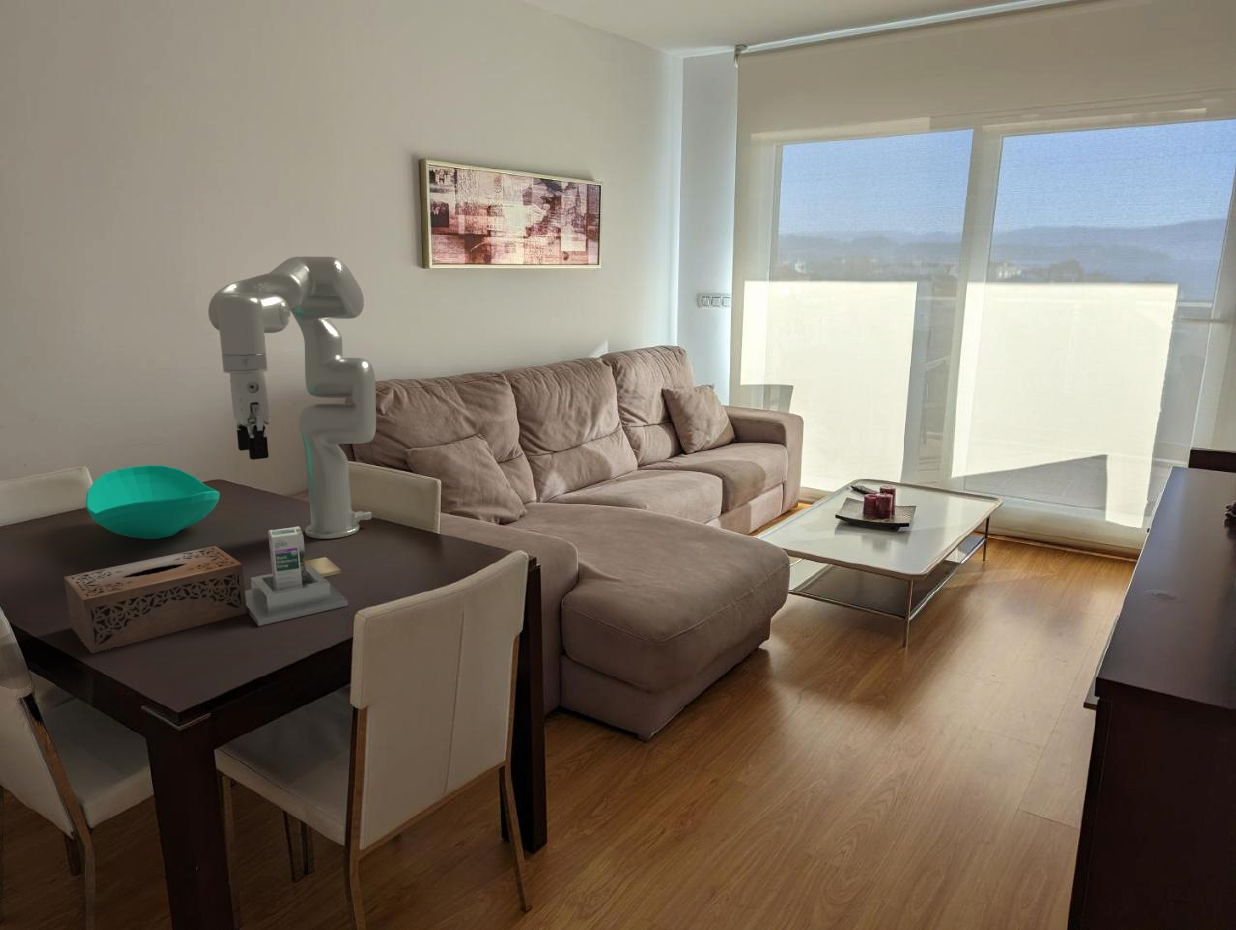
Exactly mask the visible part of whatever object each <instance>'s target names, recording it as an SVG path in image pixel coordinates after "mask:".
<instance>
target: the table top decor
mask: <svg viewBox="0 0 1236 930" xmlns="http://www.w3.org/2000/svg"><path fill="white" fill-rule="evenodd" d="M220 495H221V494H220V492H219V491H218V490H216V489H214V488H212V487H210V486H208V485H206V484H205V483H203V482H202V481H201V480H200V479H198V478H197V477H196V476H194V475H192V474H190V473H188V472H186V471H183V470H181V469H180V468H179V469H178V468H175V467H172V466H166V465H149V464H148V465H139V466H137V465H136V466H131V467H125V468H118V469H115V470H112V471H109V472H106V473H104V474H102V475H101V476H100V477H99V478H96V480H94V481H93V482H92V484H91V486H90V487H89V489H88V491H87V493H86V500H85V507H86V509H87V512H88V513H89V515H90V518H91V519H93V521H95V522H96V523H97V524H98V525H99V526H101V527H103V528H105V529H107V530H108V531H110V532H112V533H114V534H116V535H121V536H124V537H129V538H137V539H144V540H145V539H147V540H156V539H163V538H167V537H168V538H169V537H172V536H174V535H176V534H178V533H179V532H180V531H181V530H184V529H186V528H189V527H191V526H193V525H194V524H196V523H198V522H199V521H201V520H203V519H204V518H206V517H207V515H209V514H210V513H211V512H212V511H213V510H214V509H215V507H216V506H217V504H218V503H219V500H220Z"/></svg>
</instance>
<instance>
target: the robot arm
mask: <svg viewBox="0 0 1236 930" xmlns="http://www.w3.org/2000/svg"><path fill="white" fill-rule="evenodd" d="M364 305H365V300H364V294H363V290H362V288H361V286H360V284H359V283H358V281H357V280H356V278H355V276H354V275H353V273H352V272H351V270H350V269H349V267H348V266H347V265H346V264H345V263H344V262H343V261H342V260H341V259H338V258H337V257H334V256H294V257H293V256H292V257H290V258H287V259H286V260H284V261H283V262H281V263H280V264H278V265H277V266H276V267H275V268H274V269H273V270H271V271H270V272H268V273H264V274H259V275H256V276H254V277H250V278H245V279H241V280H238V281H235V282H232V283H229V284H226V285H225V286H224V287H222V288H221V289H219V290H217V292H215V294H214V295H213V296H212V297H211V298H210V301H209V305H208V310H207V311H208V318H209V322H210V323H211V325H212V327H214V328H215V329H216V330H217V331H219V337H220V347H221V349H220V350H221V357H222V358H221V359H222V360H221V361H222V369H223V373H225V374H229V377H230V378H229V379H230V380H229V381H230V382H229V383H230V394H231V395H230V396H231V397H230V398H231V404H232V405H231V406H232V414H233V418H234V420H235V421H236V428H237V430H236V436H237V447H238V450H239V451H248V452H249V453H248V454H249V455H248V457H249V459H250V460H261V459H268V458H269V456H270V455H269V447H268V445H269V444H268V436H267V431H266V425H270V424H271V423H272V417H271V409H270V404H269V403H270V402H269V396H268V395H269V394H268V387H267V383H266V378H265V373H264V372H268V360H267V350H266V349H267V348H266V339H265V337H266V336H265V334H275V333H279V332H282V331H283V330H285V329H286V328H287V326H288V325H289V322H290V320H291V314H292V316H293V318H294V320H295V321H296V323H297V324H298V326H299V328H300V330H301V333H302V336H303V341H304V372H305V373H304V378H305V387H306V391H307V392H308V394H309V395H310V396H312V397H316V398H321V399H322V398H324V399H326V398H327V399H330V398H331V399H340V398H341V399H353V403H313V404H310V405H307V406H305V407H303V409H301V411H300V412H299V417H298V427H299V432H300V435H301V439H302V442H303V447H304V448H303V449H304V453H305V461H306V473H307V487H308V497H309V498H308V499H309V509H310V510H309V511H310V522H311V524H309V525H308V526H306V528H305V529H304V532H305V535H306V536H307V537H309V538H314V539H319V540H323V539H325V540H326V539H339V538H344V537H348V536H350V535H354V534H356V533H357V532H358V531H359V530H360V524H359V523H360V521H368V520H371V519H372V518H373V515H372V512H371V511H362V510H361V511H359V510H358V511H356V512H355V511H354V510H352V501H351V500H352V499H351V498H352V497H351V487H350V471H349V461H348V457H347V455H346V454H345V452H344V450H343V449H342V448H341V447H340V446H339V445H342V444H348V445H349V444H351V445H352V444H359V445H361V444H367V443H370V442H371V441H373V440H374V438H375V435H376V431H377V430H376V429H377V409H376V408H377V404H376V403H377V400H376V399H377V398H376V397H377V396H376V395H377V394H376V391H377V389H376V386H377V385H376V375H375V370H374V368H373V365H372V363H371V362H370V361H369V360H367V359H364V358H361V357H344V356H343V355H344V354H343V337H342V334H341V333H340V331H339V329H338V328H337V327H336V325H334V323H333V322H332V321H331V320H333V319H336V320H337V319H339V320H343V319H346V320H347V319H350V320H351V319H356V318H358V317H359V316H360V315H361V314H362V312H363V311H364Z"/></svg>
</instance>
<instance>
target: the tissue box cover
mask: <svg viewBox="0 0 1236 930" xmlns="http://www.w3.org/2000/svg"><path fill="white" fill-rule="evenodd" d="M63 580H64V585H65V591H66V592H65V593H66V599H67V607H68V613H69V619H70V625H71V626H72V627H71V629H72V628H73V629H74V631H75V632H76V633H77V635H78V636H79V637H78V636H77V635H76V636H77V637H78V639H79V638H80V639H81V640H80V639H79V640H80V641H81V642H83V643H84V644H83V643H82V644H83V645H84V647H85V646H86V647H87V648H88V649H89V651H90V652H91V653H93V652H97V651H101V650H105V649H109V648H110V649H109V650H112V649H111V648H113V649H115V648H114V647H117V648H121V647H123V646H127V645H131V644H135V643H138V642H139V643H140V642H143V641H146V640H150V639H155V638H158V637H162V636H165V635H169V634H174V633H178V632H180V631H184V630H188V629H193V628H196V627H199V626H204V625H207V624H211V623H216V622H218V621H222V620H226V619H229V618H233V617H238V616H242V615H245V614H247V613H248V612H247V607H246V597H245V591H246V589H245V588H246V587H245V579H244V568H243V563H241V562H239V561H238V560H236V559H235V557H233V556H231V555H230V554H228V553H226V552H225V551H224V550H222V549H221V548H219V547H218V546H216V545H212V546H208V547H203V548H198V549H197V548H196V549H193V550H188V551H184V552H183V551H182V552H178V553H174V554H170V555H164V556H160V557H159V556H158V557H154V558H150V559H144V560H140V561H135V562H130V563H125V564H120V565H116V566H110V567H107V568H106V567H105V568H101V569H95V570H91V571H86V572H82V573H77V574H72V575H68V576H63ZM73 629H72V630H73ZM74 631H73V632H74ZM75 632H74V633H75ZM76 633H75V634H76ZM86 647H85V648H86ZM87 648H86V649H87ZM88 649H87V650H88ZM89 651H88V652H89ZM105 651H106V650H105ZM90 652H89V653H90ZM91 653H90V654H91Z"/></svg>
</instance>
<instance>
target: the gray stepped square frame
mask: <svg viewBox="0 0 1236 930" xmlns="http://www.w3.org/2000/svg"><path fill="white" fill-rule="evenodd" d="M306 573H307V585H302V586H297V587H293V588H288V589H283V590H278V591H274V584H273V574H272V573H268V574H262V575H257V576H253V577H250V584H251V589H247V590H246V589H245V597H246V607H247V613H248V614H249V616H250V617H251V618H252V620H253V621H254V622H255V624H256V625H257V626H258V627H262V626H266V625H271V624H274V623H278V622H283V621H287V620H292V619H298V618H300V617H304V616H309V615H313V614H319V613H322V612H326V611H327V612H328V611H331V610H335V609H340V608H344V607H347V606H348V605H349V603H348V599H347V598H346V597H345V596H344V595H342V594H341V592H339V591H338V590H337V589H336V588H335V587H334V586H333V585H332V584H331V583H330V581H328V580H327V579H326V578H325V577H323V576H322V575H321V574H320V573H318V572H317V571H316V570H315V569H314V568H313V567H312V566H307V567H306Z"/></svg>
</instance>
